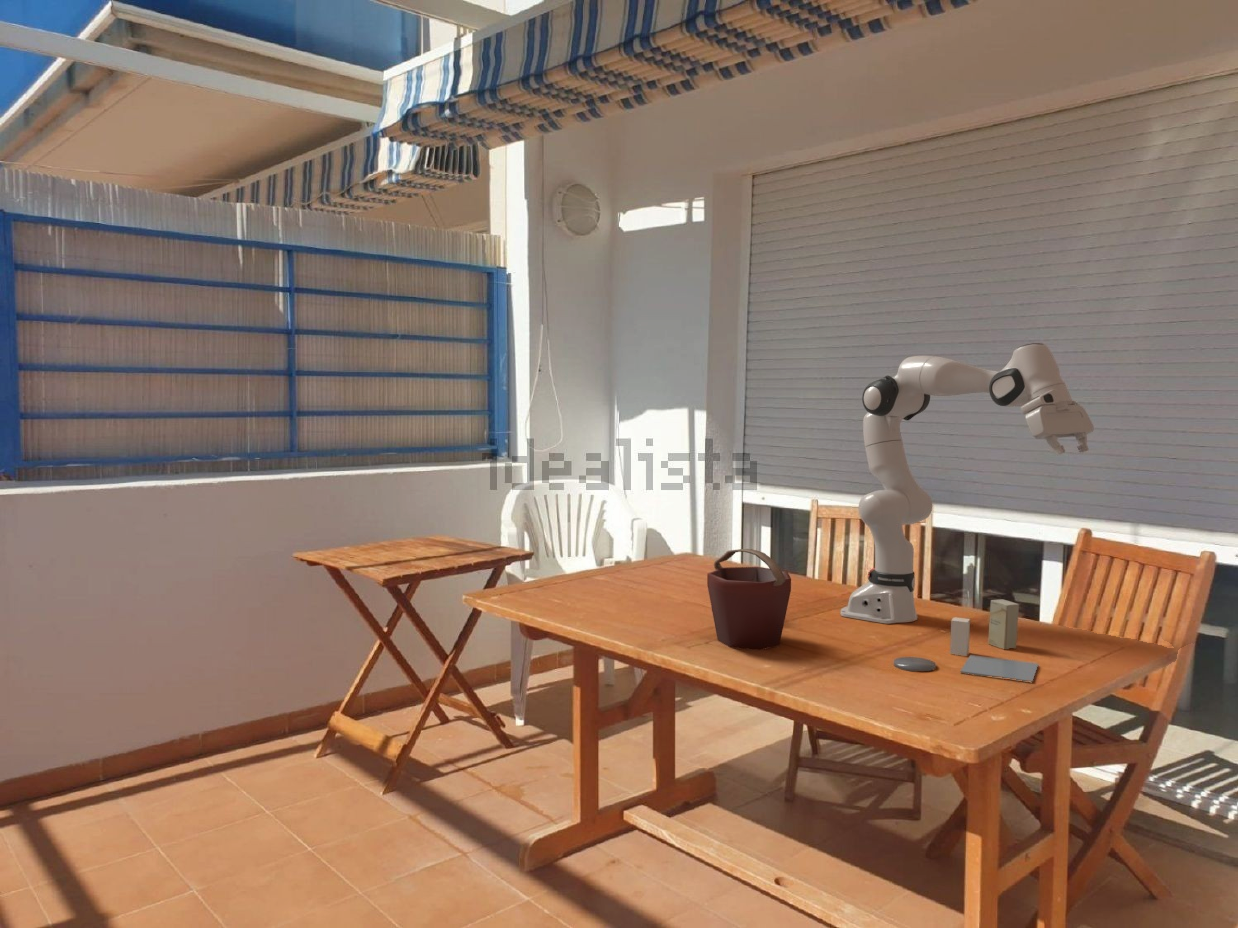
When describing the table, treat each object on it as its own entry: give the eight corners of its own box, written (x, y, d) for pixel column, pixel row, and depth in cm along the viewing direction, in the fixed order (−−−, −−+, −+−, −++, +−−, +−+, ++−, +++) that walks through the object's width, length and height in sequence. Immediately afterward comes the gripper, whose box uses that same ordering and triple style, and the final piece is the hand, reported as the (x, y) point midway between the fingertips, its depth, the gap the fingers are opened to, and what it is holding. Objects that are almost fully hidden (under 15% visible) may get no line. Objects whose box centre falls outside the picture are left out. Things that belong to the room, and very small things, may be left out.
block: (950, 654, 243) (951, 620, 242) (952, 650, 247) (953, 617, 246) (966, 656, 241) (967, 622, 240) (968, 652, 245) (969, 618, 244)
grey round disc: (889, 667, 231) (889, 664, 231) (898, 657, 240) (898, 654, 240) (931, 674, 226) (931, 670, 226) (939, 663, 235) (939, 660, 235)
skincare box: (987, 644, 253) (989, 599, 252) (1000, 642, 255) (1002, 598, 254) (1004, 650, 247) (1006, 604, 246) (1017, 648, 249) (1019, 603, 248)
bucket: (695, 633, 263) (695, 545, 261) (764, 626, 271) (765, 541, 269) (735, 656, 240) (737, 560, 238) (810, 648, 248) (811, 555, 246)
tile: (960, 673, 227) (960, 670, 227) (970, 656, 241) (970, 654, 241) (1032, 683, 219) (1032, 680, 219) (1038, 665, 233) (1038, 663, 233)
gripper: (1066, 406, 242) (1087, 455, 238) (1015, 408, 232) (1036, 459, 228) (1087, 395, 237) (1109, 445, 233) (1036, 397, 227) (1057, 449, 223)
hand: (1072, 452), depth 231 cm, fingers open, 8 cm apart
